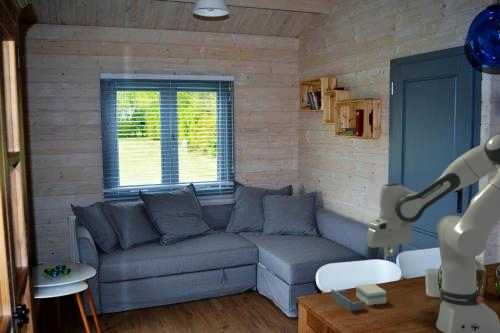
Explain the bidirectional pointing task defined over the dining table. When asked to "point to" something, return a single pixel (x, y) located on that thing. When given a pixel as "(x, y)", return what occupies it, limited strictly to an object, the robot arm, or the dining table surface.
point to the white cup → (432, 283)
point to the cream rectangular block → (371, 294)
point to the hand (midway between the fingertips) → (389, 255)
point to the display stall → (346, 301)
